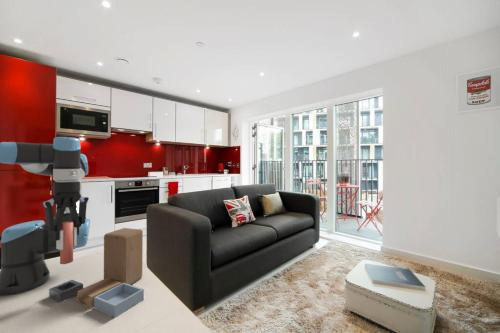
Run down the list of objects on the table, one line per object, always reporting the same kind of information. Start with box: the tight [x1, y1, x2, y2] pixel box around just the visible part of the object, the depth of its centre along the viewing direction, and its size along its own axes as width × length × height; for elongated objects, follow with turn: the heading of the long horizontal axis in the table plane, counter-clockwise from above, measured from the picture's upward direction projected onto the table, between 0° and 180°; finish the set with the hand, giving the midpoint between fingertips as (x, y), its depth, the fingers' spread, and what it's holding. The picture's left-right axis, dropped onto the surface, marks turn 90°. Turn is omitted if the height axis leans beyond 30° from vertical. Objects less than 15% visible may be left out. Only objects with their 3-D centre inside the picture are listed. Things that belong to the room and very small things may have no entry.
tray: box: [93, 283, 145, 318], centre depth 75 cm, size 10×10×4 cm
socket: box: [48, 279, 84, 304], centre depth 80 cm, size 7×7×3 cm
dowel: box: [59, 221, 74, 265], centre depth 80 cm, size 4×4×14 cm
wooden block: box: [103, 227, 144, 285], centre depth 89 cm, size 10×10×20 cm
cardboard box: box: [76, 278, 121, 309], centre depth 79 cm, size 8×10×4 cm
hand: (66, 246), depth 80 cm, fingers closed on dowel, 3 cm apart
